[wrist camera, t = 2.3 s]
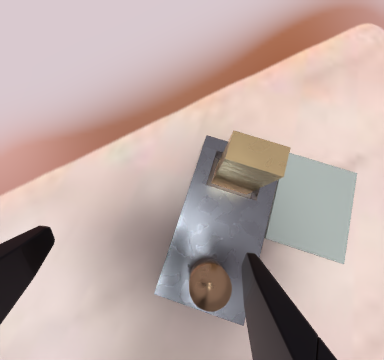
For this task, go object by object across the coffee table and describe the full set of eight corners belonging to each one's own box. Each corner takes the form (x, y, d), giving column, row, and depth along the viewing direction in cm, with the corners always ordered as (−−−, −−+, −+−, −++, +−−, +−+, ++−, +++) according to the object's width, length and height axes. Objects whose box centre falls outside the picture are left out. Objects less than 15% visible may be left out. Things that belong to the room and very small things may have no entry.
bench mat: (341, 263, 22) (344, 264, 21) (264, 238, 22) (265, 238, 22) (354, 174, 24) (357, 173, 24) (284, 152, 25) (285, 151, 24)
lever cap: (246, 194, 23) (283, 176, 14) (211, 183, 24) (225, 158, 14) (252, 171, 24) (292, 140, 15) (217, 161, 24) (235, 123, 15)
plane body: (237, 313, 21) (253, 345, 15) (158, 285, 21) (147, 307, 16) (273, 164, 24) (296, 148, 19) (204, 143, 25) (209, 122, 19)
